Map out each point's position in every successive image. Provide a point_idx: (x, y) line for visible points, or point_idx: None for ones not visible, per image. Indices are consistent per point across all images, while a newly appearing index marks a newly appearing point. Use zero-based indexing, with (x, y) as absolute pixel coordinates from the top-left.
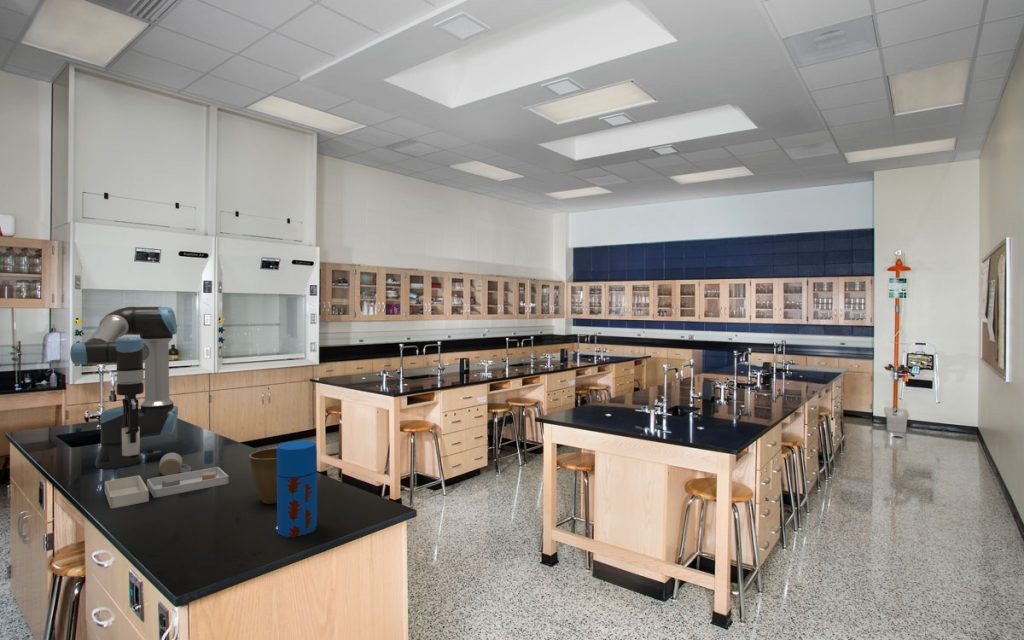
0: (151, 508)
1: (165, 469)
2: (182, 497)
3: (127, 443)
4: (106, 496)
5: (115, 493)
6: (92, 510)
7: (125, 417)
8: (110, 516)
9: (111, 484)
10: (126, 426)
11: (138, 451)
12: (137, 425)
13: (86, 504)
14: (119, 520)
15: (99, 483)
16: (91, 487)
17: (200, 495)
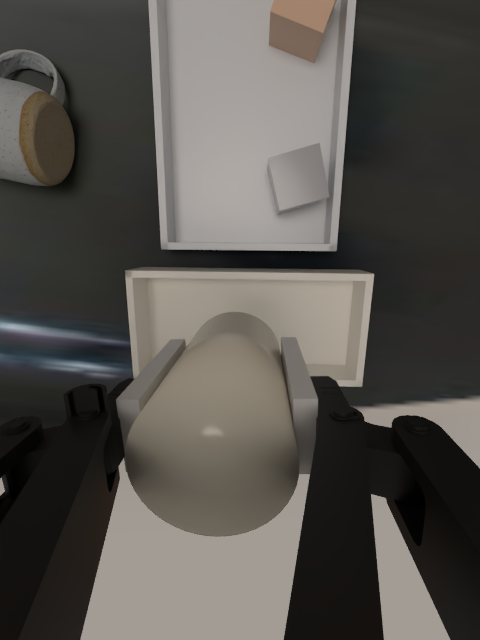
0: (434, 272)
1: (56, 163)
2: (390, 161)
3: None
4: None
5: None
6: None
7: (79, 627)
8: (415, 377)
9: (144, 355)
10: (112, 486)
11: (263, 325)
12: (475, 479)
13: None
14: (476, 362)
15: (29, 363)
16: (64, 386)
17: (418, 95)
